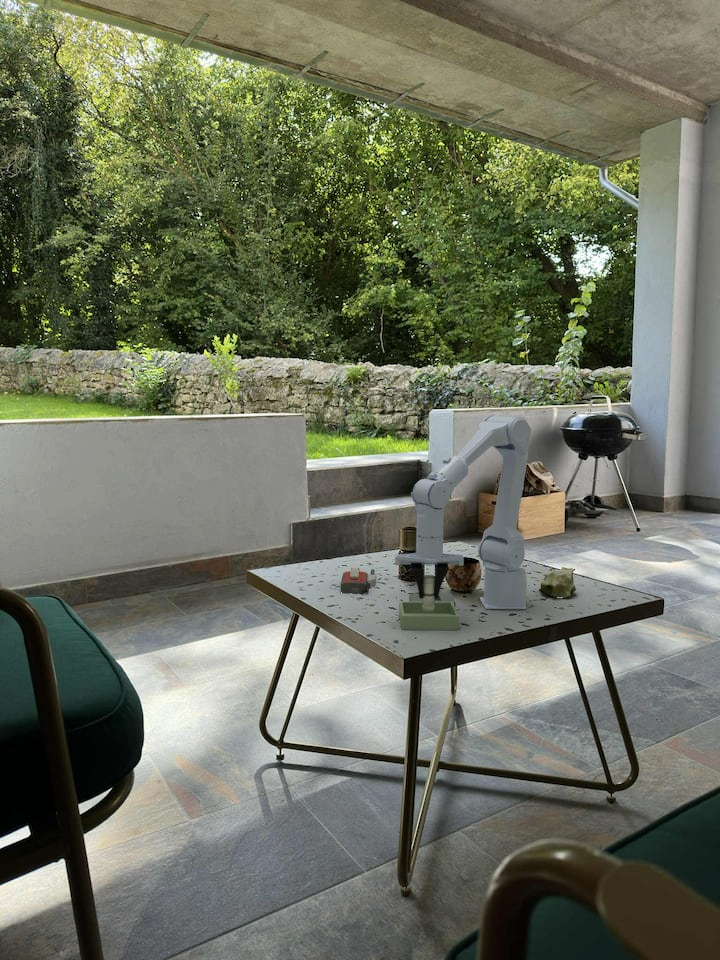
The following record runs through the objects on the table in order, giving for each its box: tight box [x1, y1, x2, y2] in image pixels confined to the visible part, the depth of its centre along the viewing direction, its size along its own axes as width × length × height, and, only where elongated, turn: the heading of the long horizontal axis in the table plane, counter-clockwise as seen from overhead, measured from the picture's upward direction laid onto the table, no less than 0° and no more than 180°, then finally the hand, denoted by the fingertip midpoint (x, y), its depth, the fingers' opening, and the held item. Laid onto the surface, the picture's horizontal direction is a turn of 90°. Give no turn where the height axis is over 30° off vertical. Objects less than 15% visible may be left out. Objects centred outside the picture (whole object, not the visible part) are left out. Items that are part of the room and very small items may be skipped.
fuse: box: [422, 574, 435, 612], centre depth 156 cm, size 3×3×8 cm
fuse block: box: [408, 593, 457, 609], centre depth 167 cm, size 10×7×2 cm
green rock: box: [538, 566, 577, 599], centre depth 177 cm, size 9×9×8 cm
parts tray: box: [398, 601, 460, 631], centre depth 156 cm, size 12×10×3 cm
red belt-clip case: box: [340, 567, 377, 595], centre depth 186 cm, size 9×4×20 cm
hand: (428, 597), depth 156 cm, fingers closed on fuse, 3 cm apart
